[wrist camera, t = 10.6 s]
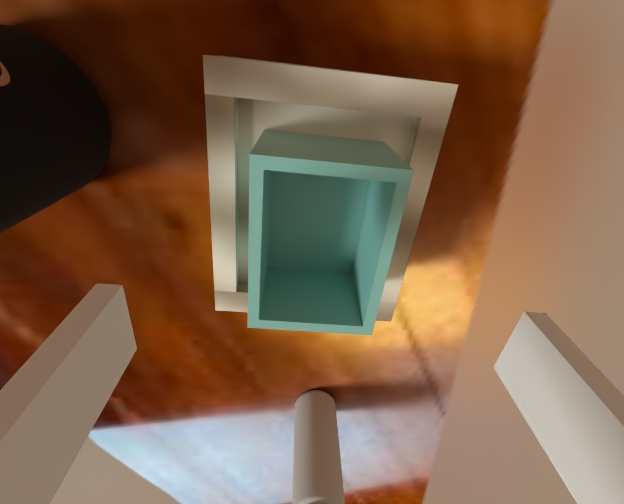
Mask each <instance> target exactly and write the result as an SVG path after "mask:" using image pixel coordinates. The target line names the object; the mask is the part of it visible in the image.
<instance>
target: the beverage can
mask: <svg viewBox="0 0 624 504" xmlns="http://www.w3.org/2000/svg"><path fill="white" fill-rule="evenodd" d="M293 504H345V501H344V491H343V480H342V470H341V459H340V449H339V438H338V428H337V418H336V407H335V401H334V399H333V398H332V397H331V396H330V395H329V394H328V393H326V392H324V391H320V390H311V391H307V392H305V393H303V394H302V395H301V396H300V397H299V398H298V400H297V401H296V403H295V422H294V465H293Z"/></svg>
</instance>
